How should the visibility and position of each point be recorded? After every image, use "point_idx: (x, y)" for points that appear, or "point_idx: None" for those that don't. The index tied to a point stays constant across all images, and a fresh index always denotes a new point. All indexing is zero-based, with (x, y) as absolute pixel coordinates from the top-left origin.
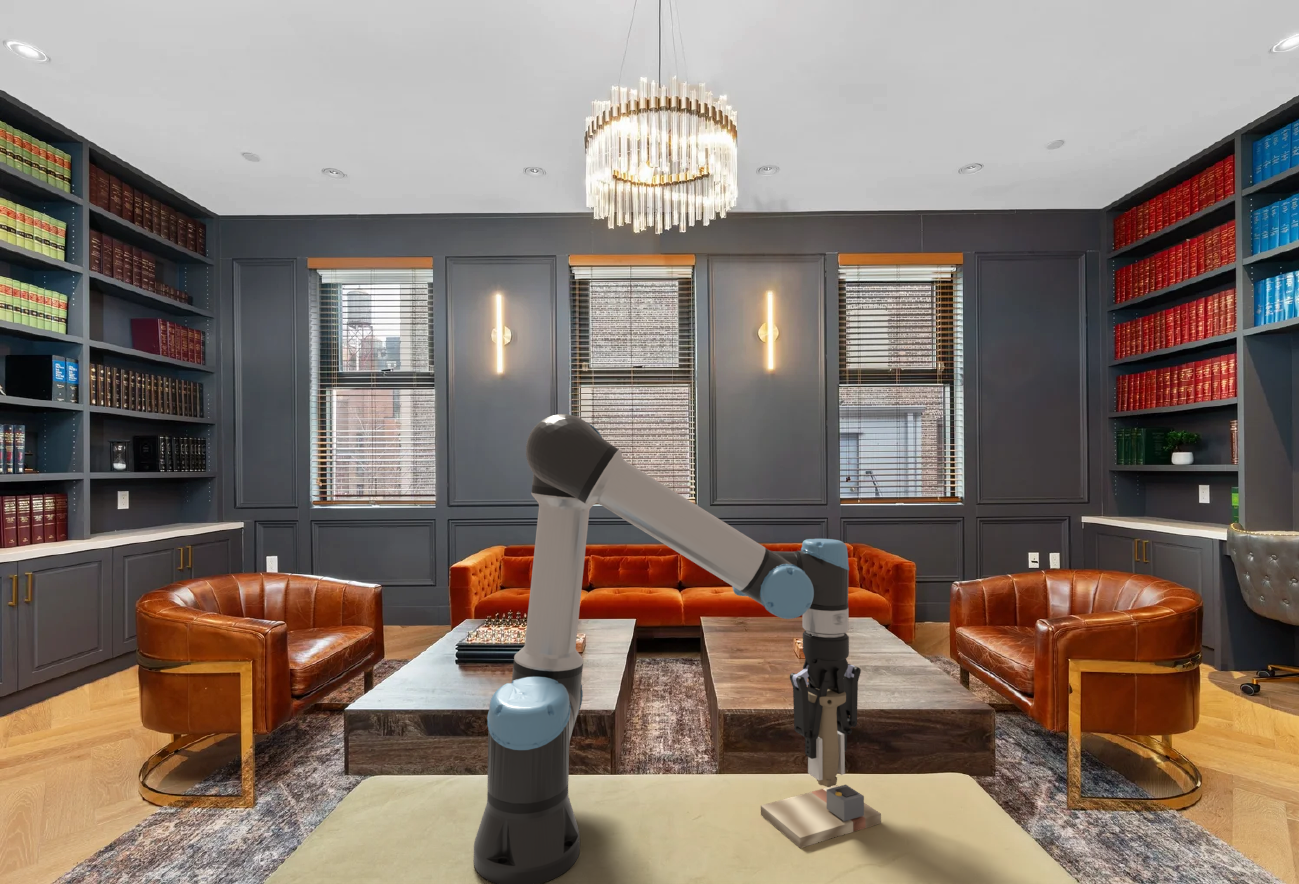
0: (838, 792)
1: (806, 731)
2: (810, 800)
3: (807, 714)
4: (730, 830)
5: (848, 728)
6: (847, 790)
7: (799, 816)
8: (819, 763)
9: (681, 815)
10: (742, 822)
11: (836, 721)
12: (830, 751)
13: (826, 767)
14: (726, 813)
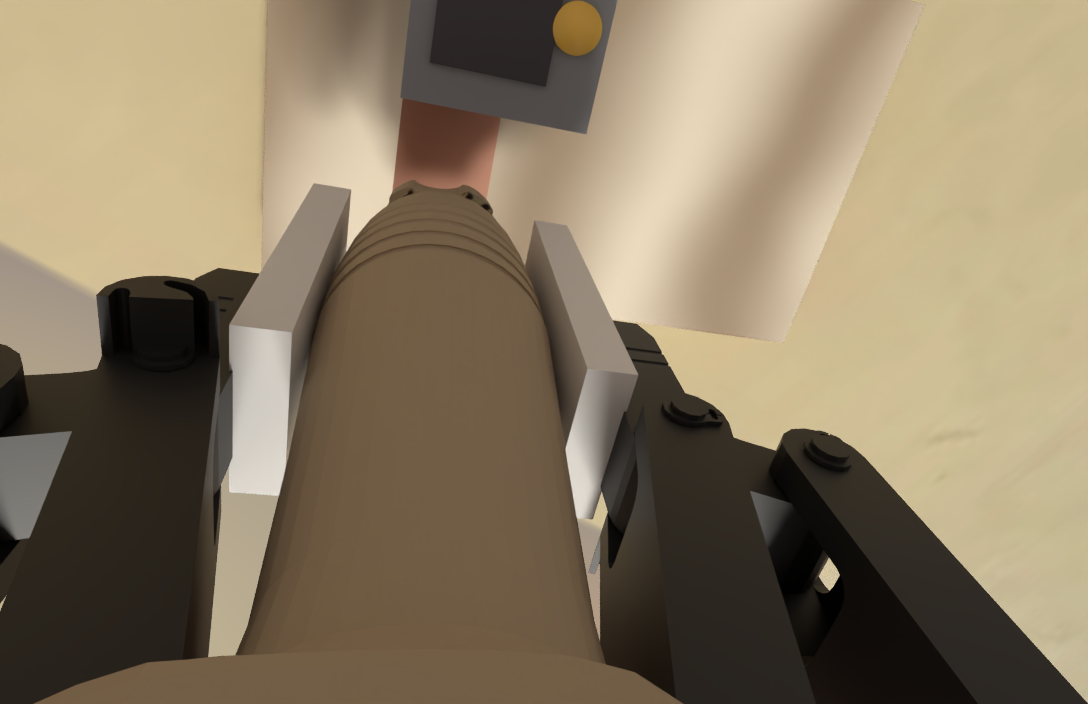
0: (564, 40)
1: (847, 472)
2: None
3: (960, 654)
4: (957, 304)
5: (114, 353)
6: (477, 16)
7: (735, 160)
8: (585, 269)
9: (977, 471)
10: (871, 320)
11: (348, 450)
12: (494, 268)
13: (509, 239)
14: (854, 402)
